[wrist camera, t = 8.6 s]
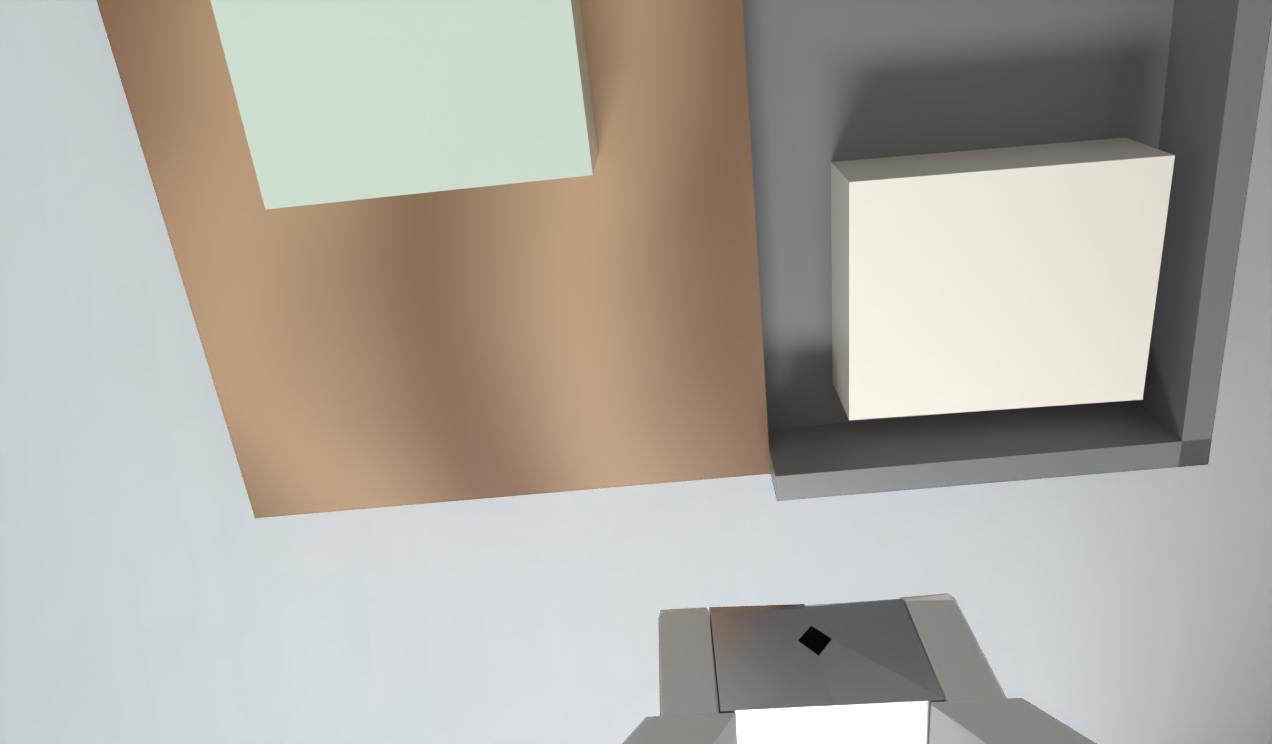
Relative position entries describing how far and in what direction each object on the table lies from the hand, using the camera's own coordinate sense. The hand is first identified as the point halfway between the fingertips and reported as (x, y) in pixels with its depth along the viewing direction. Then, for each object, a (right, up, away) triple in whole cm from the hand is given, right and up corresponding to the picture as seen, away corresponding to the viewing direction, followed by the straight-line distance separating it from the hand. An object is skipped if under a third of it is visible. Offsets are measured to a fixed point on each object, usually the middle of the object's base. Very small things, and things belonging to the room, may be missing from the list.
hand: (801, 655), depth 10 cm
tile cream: (+5, +5, +11) cm, 13 cm away
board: (-5, +7, +10) cm, 14 cm away
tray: (+5, +8, +10) cm, 14 cm away
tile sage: (-6, +9, +8) cm, 14 cm away
